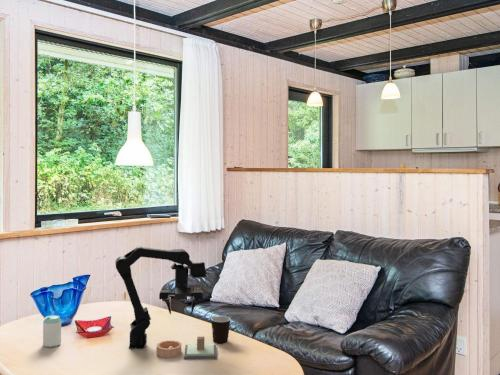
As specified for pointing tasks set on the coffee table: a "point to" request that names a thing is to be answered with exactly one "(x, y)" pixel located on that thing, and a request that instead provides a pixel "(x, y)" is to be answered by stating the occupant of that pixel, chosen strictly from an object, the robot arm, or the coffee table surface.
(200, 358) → the mat
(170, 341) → the bowl
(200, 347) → the lid
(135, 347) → the robot arm
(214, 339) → the coffee mug
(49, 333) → the can
